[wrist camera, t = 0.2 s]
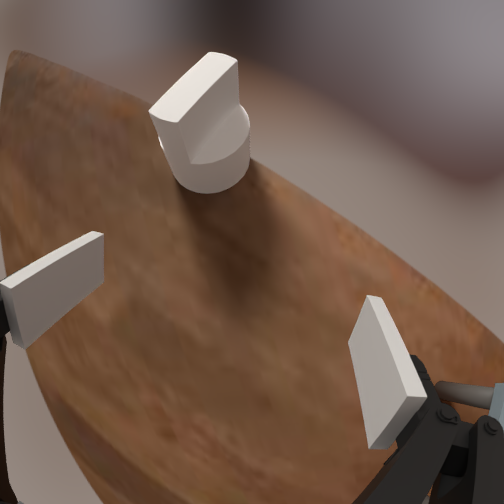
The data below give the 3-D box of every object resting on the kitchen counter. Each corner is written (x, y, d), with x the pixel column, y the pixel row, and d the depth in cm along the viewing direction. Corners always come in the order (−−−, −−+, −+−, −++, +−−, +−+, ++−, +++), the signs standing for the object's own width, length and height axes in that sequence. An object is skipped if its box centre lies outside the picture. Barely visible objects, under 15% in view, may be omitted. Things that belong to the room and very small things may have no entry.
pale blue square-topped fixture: (484, 485, 22) (538, 509, 10) (393, 502, 23) (443, 550, 11) (516, 377, 26) (580, 377, 15) (432, 375, 27) (507, 384, 15)
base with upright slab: (222, 207, 32) (208, 139, 20) (156, 173, 33) (120, 103, 22) (264, 146, 34) (269, 68, 23) (200, 118, 35) (185, 44, 24)
